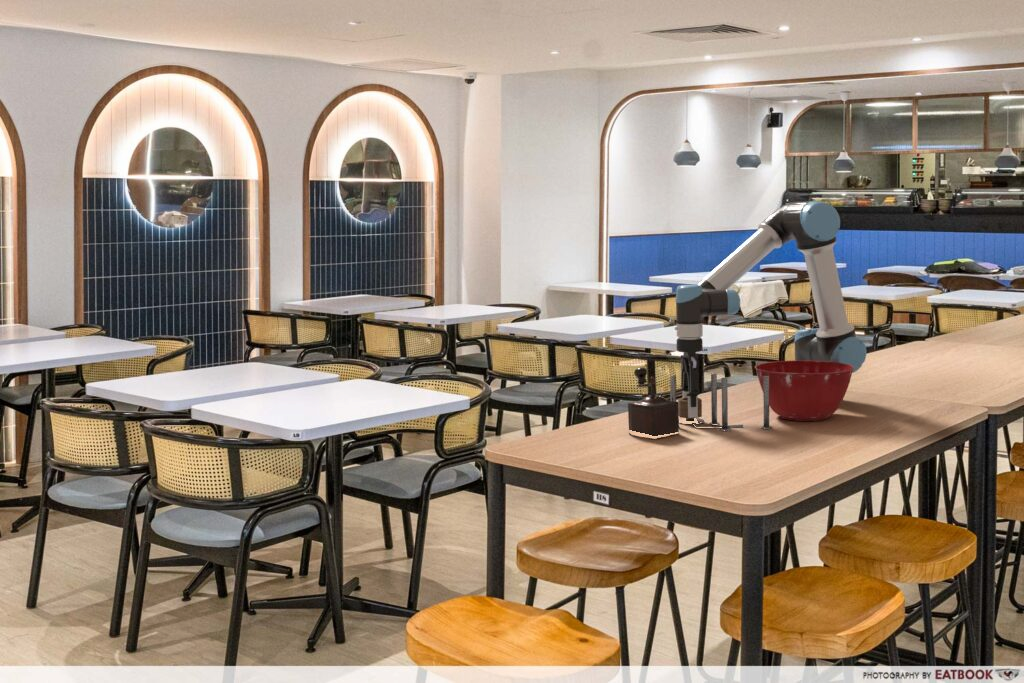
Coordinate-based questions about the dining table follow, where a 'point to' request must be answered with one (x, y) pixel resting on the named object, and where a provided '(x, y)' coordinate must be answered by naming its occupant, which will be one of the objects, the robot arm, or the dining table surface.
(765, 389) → the wire course
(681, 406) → the napkin ring
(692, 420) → the brass peg
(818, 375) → the mixing bowl
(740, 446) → the dining table surface
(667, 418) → the brown coffee grinder
